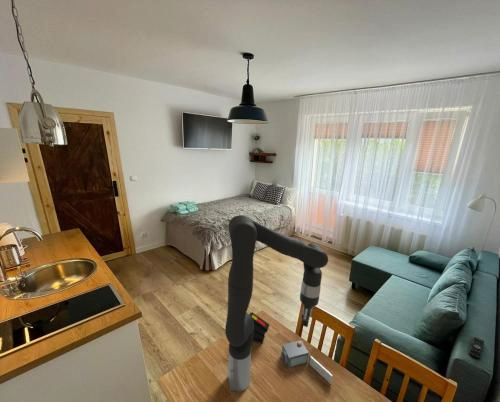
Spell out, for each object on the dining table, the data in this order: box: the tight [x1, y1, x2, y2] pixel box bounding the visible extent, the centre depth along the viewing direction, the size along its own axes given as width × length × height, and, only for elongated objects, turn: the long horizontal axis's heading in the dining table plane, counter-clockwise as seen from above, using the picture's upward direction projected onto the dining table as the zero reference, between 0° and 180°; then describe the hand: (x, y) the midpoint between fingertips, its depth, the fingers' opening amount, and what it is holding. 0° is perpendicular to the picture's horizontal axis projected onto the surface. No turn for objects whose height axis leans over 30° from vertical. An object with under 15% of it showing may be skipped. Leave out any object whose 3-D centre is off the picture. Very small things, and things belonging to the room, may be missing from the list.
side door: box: [307, 354, 333, 385], centre depth 101 cm, size 12×1×5 cm, turn 39°
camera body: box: [280, 339, 309, 368], centre depth 106 cm, size 12×7×7 cm, turn 106°
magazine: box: [248, 311, 270, 345], centre depth 116 cm, size 4×13×15 cm, turn 70°
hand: (305, 325), depth 96 cm, fingers closed
